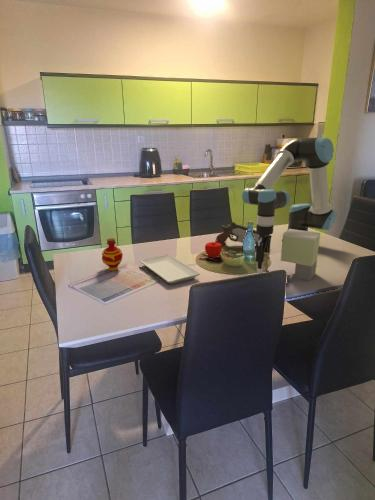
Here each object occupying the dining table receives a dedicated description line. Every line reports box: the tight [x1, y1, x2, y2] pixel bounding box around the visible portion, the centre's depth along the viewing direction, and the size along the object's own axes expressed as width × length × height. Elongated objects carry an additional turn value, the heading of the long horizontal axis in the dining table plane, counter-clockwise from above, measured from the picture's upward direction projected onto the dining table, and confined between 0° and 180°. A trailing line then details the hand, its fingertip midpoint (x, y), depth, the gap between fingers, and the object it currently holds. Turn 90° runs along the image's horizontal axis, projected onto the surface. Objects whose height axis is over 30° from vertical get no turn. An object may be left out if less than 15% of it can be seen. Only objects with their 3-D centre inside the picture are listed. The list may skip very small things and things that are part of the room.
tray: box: [139, 254, 201, 285], centre depth 164 cm, size 17×31×4 cm, turn 31°
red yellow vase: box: [101, 237, 124, 272], centre depth 167 cm, size 10×10×15 cm
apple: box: [204, 241, 223, 259], centre depth 183 cm, size 9×9×8 cm
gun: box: [214, 221, 260, 248], centre depth 201 cm, size 5×27×15 cm, turn 79°
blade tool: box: [255, 252, 292, 281], centre depth 156 cm, size 4×15×10 cm, turn 58°
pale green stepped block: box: [280, 229, 321, 282], centre depth 158 cm, size 10×15×20 cm
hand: (261, 272), depth 160 cm, fingers closed on blade tool, 4 cm apart
